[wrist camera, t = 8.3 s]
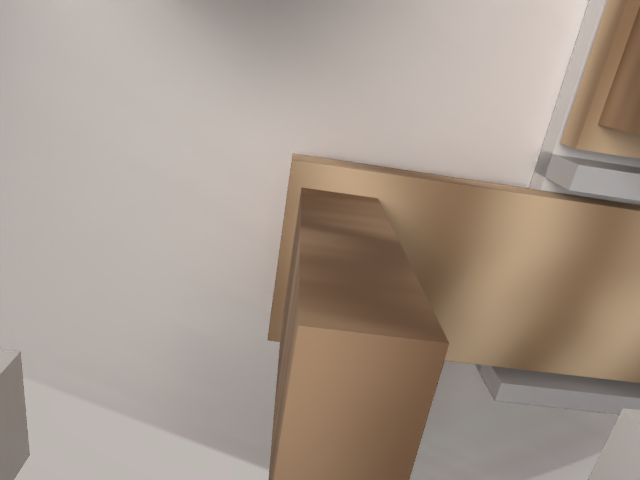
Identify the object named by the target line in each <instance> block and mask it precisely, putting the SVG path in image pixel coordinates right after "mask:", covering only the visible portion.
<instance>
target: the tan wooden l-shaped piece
mask: <svg viewBox="0 0 640 480" xmlns="http://www.w3.org/2000/svg"><path fill="white" fill-rule="evenodd" d="M268 340H270V341H278V342H280V350H279V362H278V374H277V386H276V398H275V410H274V422H273V434H272V446H271V458H270V470H269V480H409V479H410V475H411V472H412V468H413V465H414V462H415V458H416V455H417V451H418V448H419V445H420V441H421V438H422V434H423V431H424V428H425V424H426V421H427V418H428V414H429V411H430V407H431V404H432V401H433V397H434V394H435V390H436V387H437V384H438V380H439V377H440V373H441V370H442V367H443V363H444V361H452V362H461V363H470V364H478V365H487V366H496V367H505V368H513V369H522V370H531V371H539V372H548V373H557V374H565V375H574V376H583V377H592V378H600V379H609V380H618V381H626V382H635V383H640V205H637V204H630V203H623V202H617V201H610V200H603V199H596V198H590V197H583V196H576V195H569V194H562V193H556V192H549V191H542V190H535V189H529V188H522V187H515V186H508V185H502V184H495V183H488V182H481V181H475V180H468V179H461V178H454V177H448V176H441V175H434V174H427V173H421V172H414V171H407V170H400V169H394V168H387V167H380V166H373V165H367V164H360V163H353V162H346V161H340V160H333V159H326V158H319V157H313V156H306V155H299V154H293V155H292V162H291V169H290V177H289V184H288V192H287V199H286V206H285V214H284V221H283V229H282V236H281V243H280V251H279V258H278V266H277V273H276V280H275V288H274V295H273V303H272V310H271V317H270V325H269V333H268Z"/></svg>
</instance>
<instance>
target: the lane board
mask: <svg viewBox="0 0 640 480" xmlns="http://www.w3.org/2000/svg"><path fill="white" fill-rule="evenodd" d="M607 2H608V0H589V3H588V6H587V9H586V13H585V16H584V19H583V22H582V25H581V28H580V31H579V34H578V37H577V41H576V44H575V47H574V50H573V53H572V56H571V59H570V62H569V65H568V69H567V72H566V75H565V78H564V81H563V84H562V87H561V90H560V94H559V97H558V100H557V103H556V106H555V109H554V112H553V115H552V118H551V122H550V125H549V128H548V131H547V134H546V137H545V140H544V143H543V146H542V150H541V153H540V156H539V159H538V162H537V165H536V168H535V171H534V174H533V178H532V181H531V184H530V187H529V189H535V190H542V191H549V192H556V193H562V194H569V195H576V196H583V197H590V198H596V199H603V200H610V201H617V202H623V203H630V204H637V205H640V159H637V158H631V157H624V156H618V155H611V154H605V153H599V152H592V151H586V150H579V149H575V148H572V147H569V146H566V145H564V144H561V143H560V142H561V139H562V137H563V134H564V131H565V128H566V125H567V122H568V119H569V116H570V113H571V110H572V107H573V104H574V101H575V98H576V95H577V92H578V89H579V86H580V83H581V80H582V77H583V74H584V71H585V68H586V65H587V62H588V59H589V56H590V53H591V50H592V47H593V44H594V41H595V38H596V35H597V32H598V29H599V26H600V23H601V20H602V17H603V14H604V11H605V8H606V5H607ZM475 365H476V367H477V369H478V371H479V373H480V374H481V376H482V378H483V380H484V382H485V384H486V385H487V387H488V389H489V391H490V393H491V395H492V397H493V398H494V400H495V401H500V402H509V403H518V404H527V405H536V406H546V407H555V408H564V409H573V410H582V411H592V412H601V413H610V414H619V415H620V413H621V411H622V409H623V408H625V409H635V410H640V383H635V382H626V381H618V380H609V379H600V378H592V377H583V376H574V375H565V374H557V373H548V372H539V371H531V370H522V369H513V368H505V367H496V366H487V365H478V364H475Z"/></svg>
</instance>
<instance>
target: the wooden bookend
mask: <svg viewBox="0 0 640 480" xmlns="http://www.w3.org/2000/svg"><path fill="white" fill-rule="evenodd" d="M560 143H561V144H564V145H566V146H569V147H572V148H575V149H579V150H586V151H592V152H599V153H605V154H611V155H618V156H624V157H631V158H637V159H640V0H608V2H607V5H606V8H605V11H604V14H603V17H602V20H601V23H600V26H599V29H598V32H597V35H596V38H595V41H594V44H593V47H592V50H591V53H590V56H589V59H588V62H587V65H586V68H585V71H584V74H583V77H582V80H581V83H580V86H579V89H578V92H577V95H576V98H575V101H574V104H573V107H572V110H571V113H570V116H569V119H568V122H567V125H566V128H565V131H564V134H563V137H562V139H561V142H560Z"/></svg>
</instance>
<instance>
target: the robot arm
mask: <svg viewBox="0 0 640 480" xmlns="http://www.w3.org/2000/svg"><path fill="white" fill-rule="evenodd" d="M29 455H30V454H29V443H28V431H27V420H26V408H25V398H24V386H23V375H22V363H21V352H20V351H11V350H1V349H0V480H14V479H15V477H16V475H17V474H18V472H19V471H20V469H21V468H22V466H23V464H24V463H25V461H26V460H27V458H28V457H29ZM588 480H640V410H635V409H625V408H623V409H622V411H621V413H620V415H619V417H618V419H617V421H616V423H615V425H614V427H613V429H612V431H611V433H610V435H609V437H608V439H607V442H606V444H605V446H604V448H603V450H602V452H601V454H600V456H599V458H598V460H597V462H596V464H595V466H594V468H593V471H592V472H591V475H590V477H589V479H588Z"/></svg>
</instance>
